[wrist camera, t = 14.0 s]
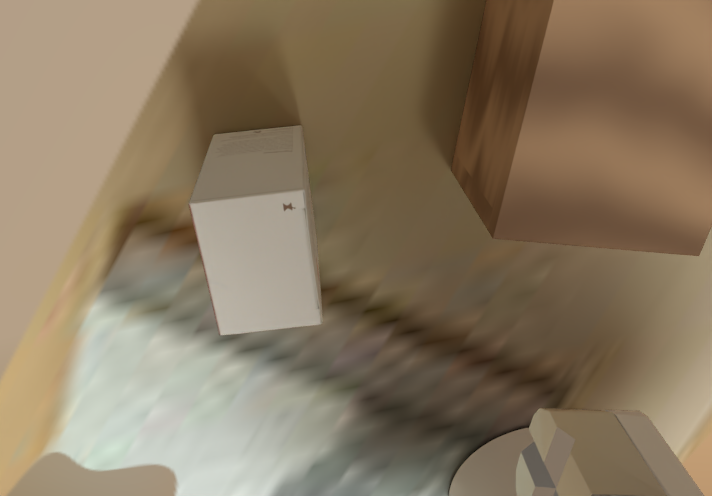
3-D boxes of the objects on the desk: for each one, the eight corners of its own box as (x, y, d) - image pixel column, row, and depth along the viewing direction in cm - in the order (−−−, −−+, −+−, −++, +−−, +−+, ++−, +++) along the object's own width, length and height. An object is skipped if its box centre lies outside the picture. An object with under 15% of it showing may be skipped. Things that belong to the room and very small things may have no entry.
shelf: (614, 186, 42) (698, 256, 33) (450, 170, 41) (493, 238, 32) (693, -45, 36) (822, -35, 27) (502, -74, 34) (572, -74, 25)
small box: (212, 131, 38) (184, 198, 29) (303, 122, 38) (305, 185, 29) (235, 247, 42) (216, 339, 33) (318, 238, 42) (323, 327, 33)
